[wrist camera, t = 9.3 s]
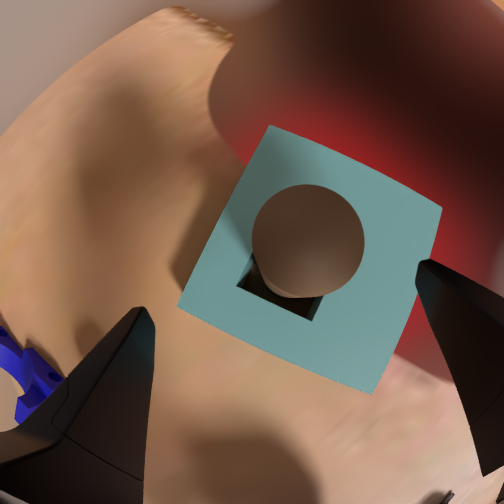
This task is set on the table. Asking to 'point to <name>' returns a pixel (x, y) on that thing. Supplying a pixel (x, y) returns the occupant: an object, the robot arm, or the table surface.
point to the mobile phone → (448, 498)
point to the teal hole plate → (333, 304)
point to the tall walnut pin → (307, 241)
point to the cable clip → (27, 375)
